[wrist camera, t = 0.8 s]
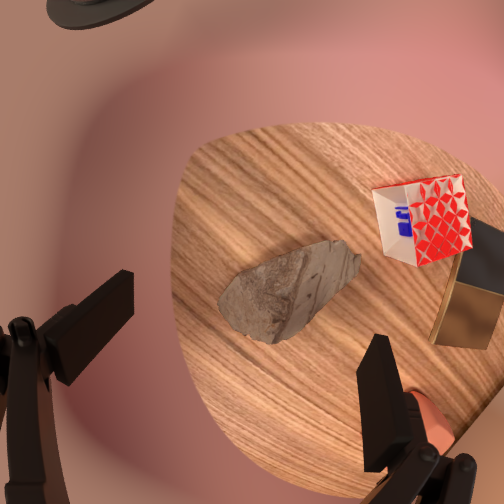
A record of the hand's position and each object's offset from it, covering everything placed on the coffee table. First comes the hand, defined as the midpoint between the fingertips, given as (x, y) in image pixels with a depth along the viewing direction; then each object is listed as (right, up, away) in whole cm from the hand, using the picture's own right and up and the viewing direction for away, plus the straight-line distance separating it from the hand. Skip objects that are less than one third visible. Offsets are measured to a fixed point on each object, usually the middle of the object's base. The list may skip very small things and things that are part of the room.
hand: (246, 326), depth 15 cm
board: (+33, -1, +20) cm, 39 cm away
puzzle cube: (+19, +8, +18) cm, 28 cm away
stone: (+4, +1, +19) cm, 20 cm away
